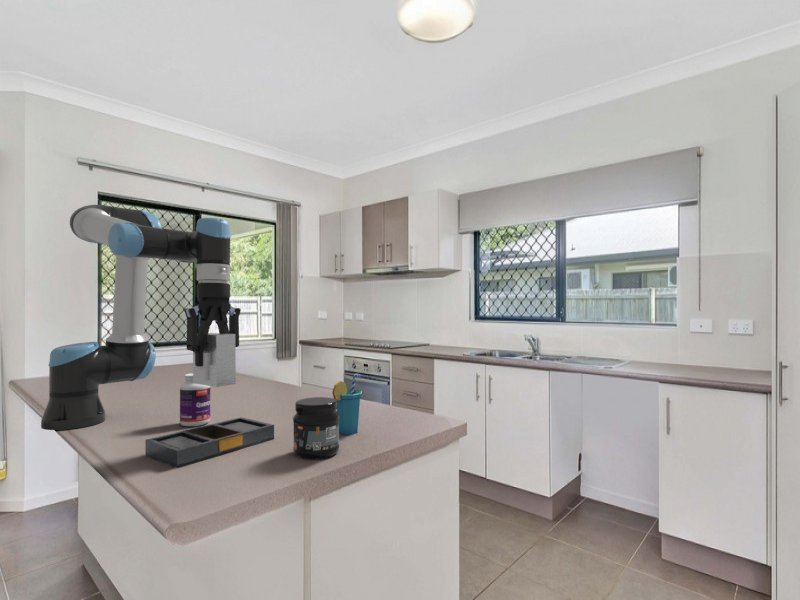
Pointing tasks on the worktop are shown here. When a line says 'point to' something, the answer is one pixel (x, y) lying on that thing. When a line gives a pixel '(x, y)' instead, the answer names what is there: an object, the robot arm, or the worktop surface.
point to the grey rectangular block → (218, 360)
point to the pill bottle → (194, 403)
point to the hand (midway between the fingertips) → (214, 378)
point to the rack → (207, 441)
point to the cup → (347, 406)
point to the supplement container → (316, 428)
